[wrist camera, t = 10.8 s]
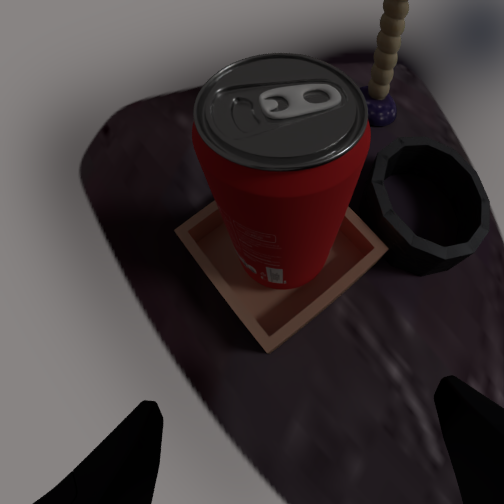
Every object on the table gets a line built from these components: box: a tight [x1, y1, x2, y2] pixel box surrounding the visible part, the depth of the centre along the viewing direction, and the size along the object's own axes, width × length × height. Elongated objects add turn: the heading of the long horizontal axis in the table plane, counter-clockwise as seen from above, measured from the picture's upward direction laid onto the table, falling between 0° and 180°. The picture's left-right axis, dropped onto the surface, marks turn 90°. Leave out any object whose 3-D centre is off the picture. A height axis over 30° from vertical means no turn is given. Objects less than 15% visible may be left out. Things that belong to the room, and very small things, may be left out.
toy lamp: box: [360, 0, 409, 126], centre depth 15 cm, size 5×5×17 cm
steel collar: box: [359, 137, 490, 276], centre depth 18 cm, size 8×8×4 cm
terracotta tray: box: [174, 200, 388, 354], centre depth 18 cm, size 9×9×2 cm
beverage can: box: [192, 53, 371, 290], centre depth 13 cm, size 5×5×12 cm
